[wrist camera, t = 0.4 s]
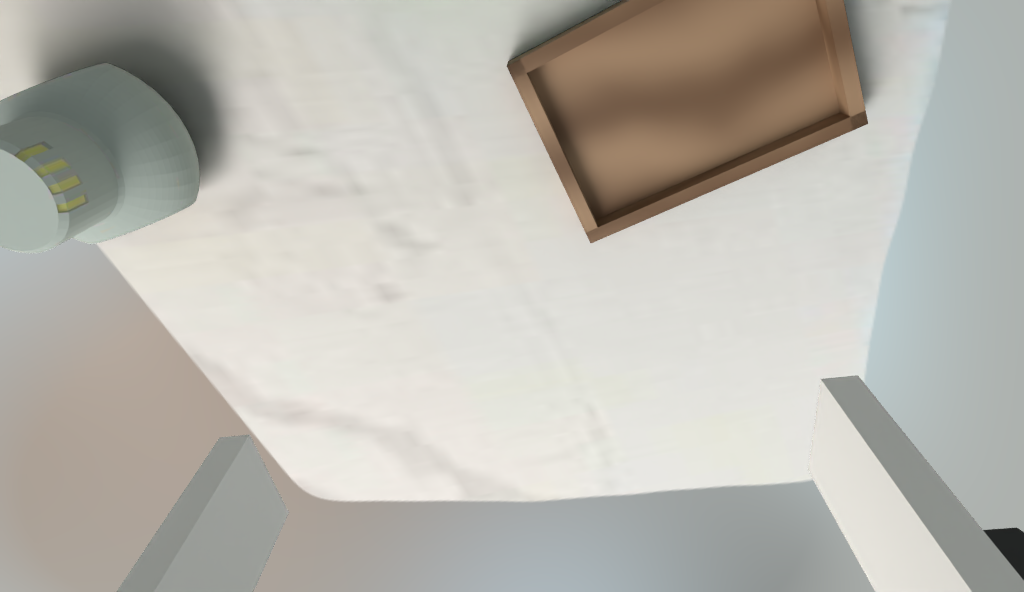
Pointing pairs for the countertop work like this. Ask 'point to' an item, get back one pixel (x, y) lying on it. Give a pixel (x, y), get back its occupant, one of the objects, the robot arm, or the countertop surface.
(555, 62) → the tray
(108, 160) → the air freshener
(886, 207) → the countertop surface
